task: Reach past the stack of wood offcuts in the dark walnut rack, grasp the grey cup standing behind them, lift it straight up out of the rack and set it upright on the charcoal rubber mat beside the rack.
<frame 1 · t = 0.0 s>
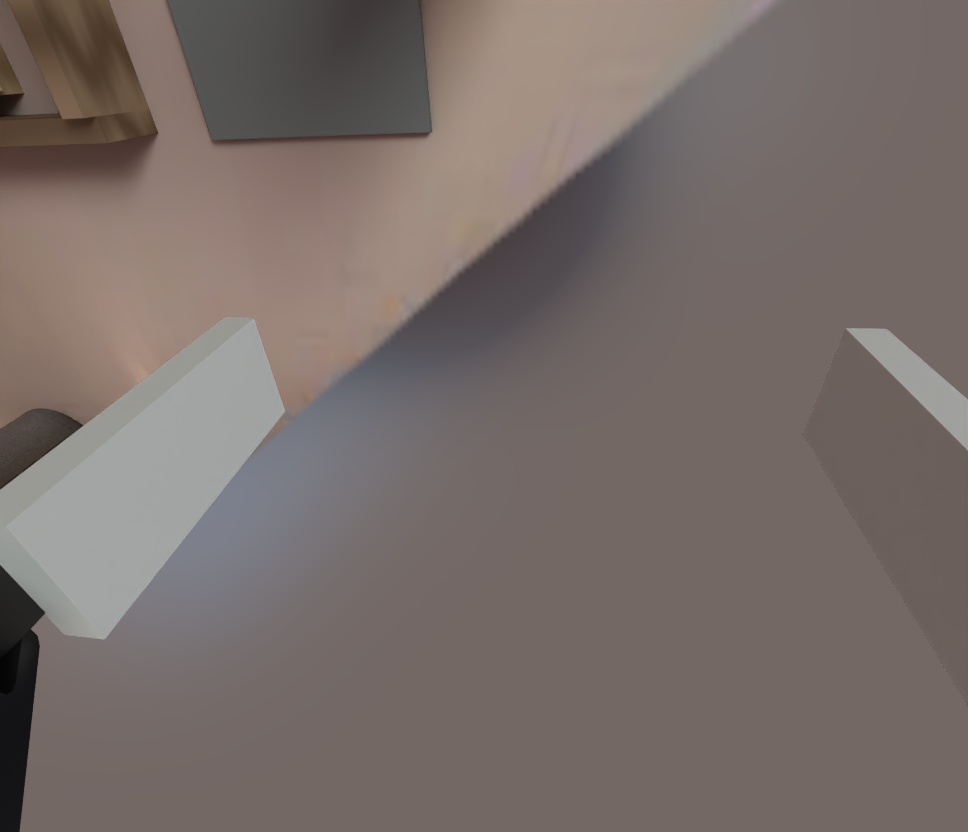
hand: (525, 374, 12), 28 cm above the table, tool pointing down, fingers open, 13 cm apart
pillar candle: (65, 440, 58), on the table
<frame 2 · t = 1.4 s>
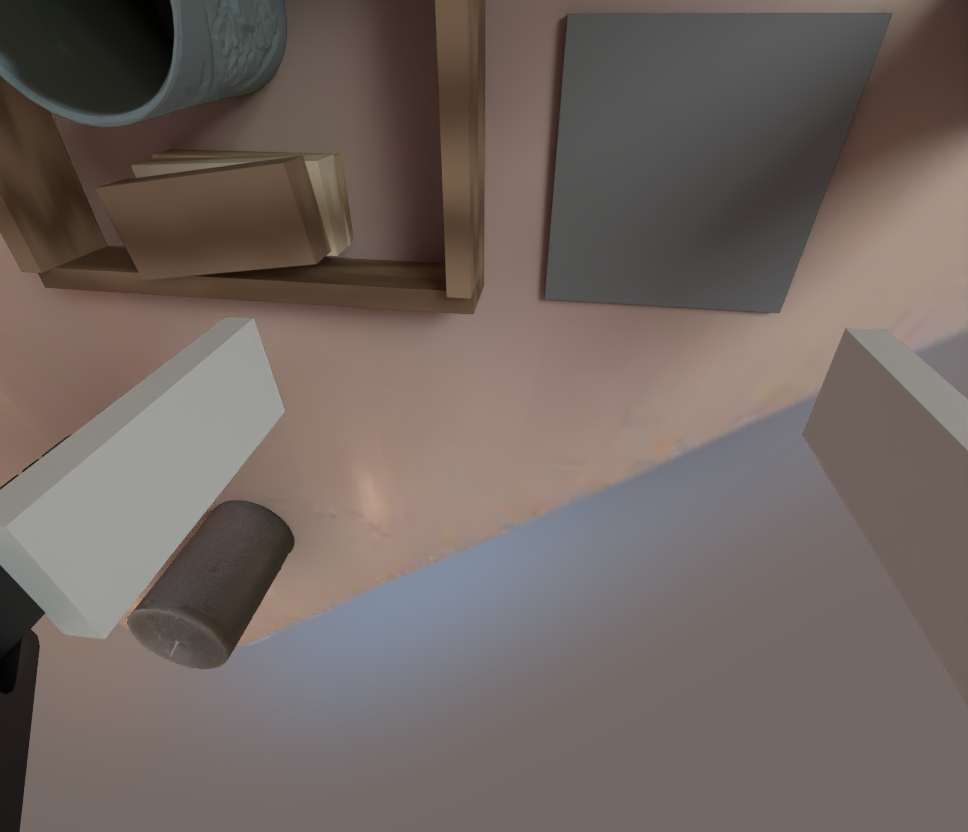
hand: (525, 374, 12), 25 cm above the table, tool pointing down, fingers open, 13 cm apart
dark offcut: (229, 215, 31), point 5 cm above the table, touching birch offcut
walnut rack: (238, 86, 31), on the table
charcoal mat: (685, 180, 31), on the table
oak offcut: (268, 194, 35), on the table, touching birch offcut
grey cup: (221, 4, 29), on the table
pillar candle: (253, 528, 58), on the table
birch offcut: (256, 202, 33), point 2 cm above the table, touching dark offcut, oak offcut
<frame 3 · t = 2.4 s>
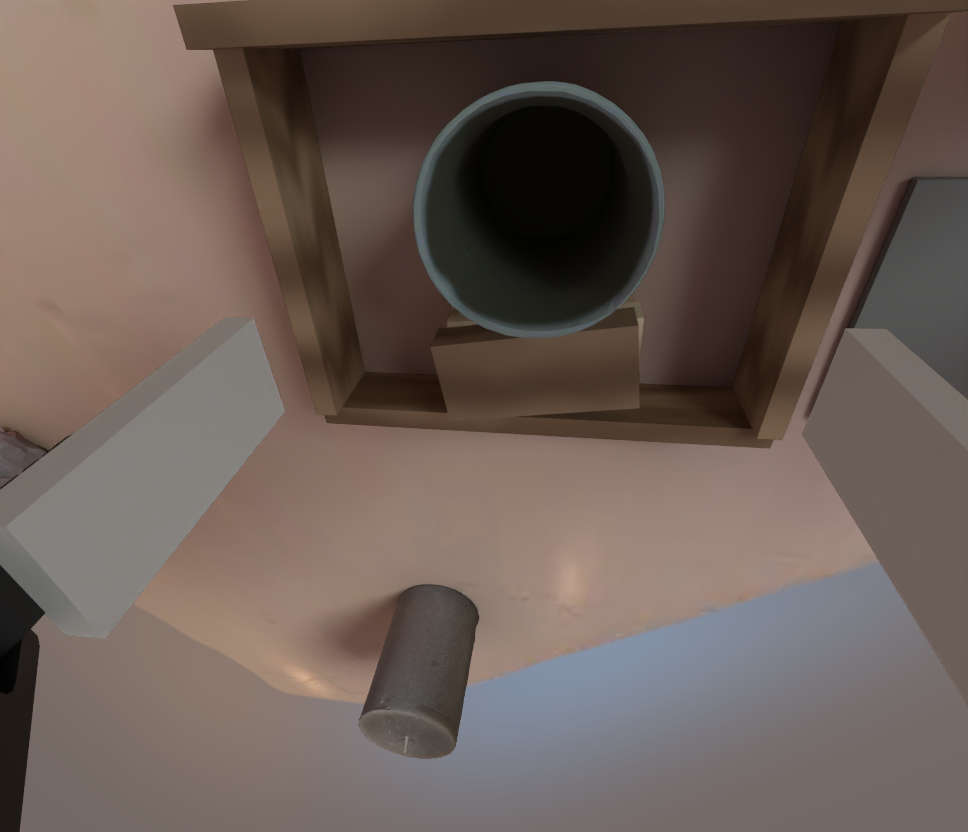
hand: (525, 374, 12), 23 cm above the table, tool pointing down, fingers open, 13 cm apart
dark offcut: (537, 357, 32), point 5 cm above the table, touching birch offcut
food item: (58, 469, 54), on the table
walnut rack: (544, 240, 32), on the table
grey cup: (546, 171, 30), on the table
pillar candle: (437, 607, 59), on the table
birch offcut: (544, 341, 34), point 2 cm above the table, touching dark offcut, oak offcut
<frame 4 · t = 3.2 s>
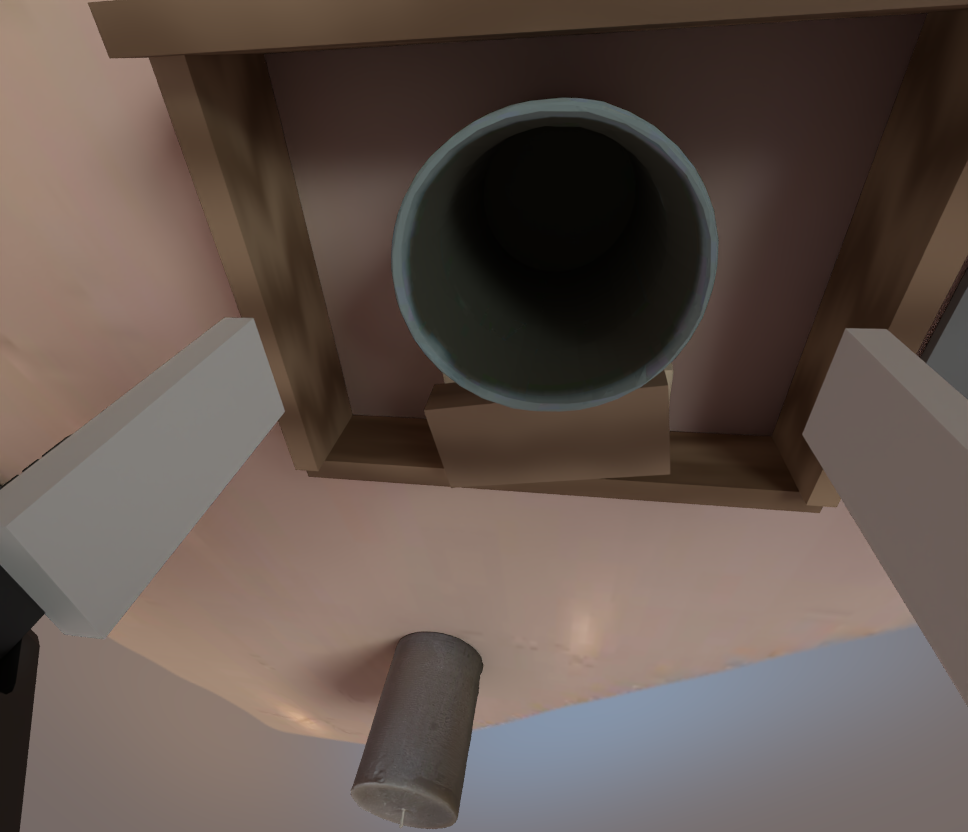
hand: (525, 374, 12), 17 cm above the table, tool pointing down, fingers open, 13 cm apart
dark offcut: (549, 414, 28), point 4 cm above the table
walnut rack: (555, 273, 28), on the table
grey cup: (558, 195, 26), on the table
pillar candle: (438, 654, 54), on the table
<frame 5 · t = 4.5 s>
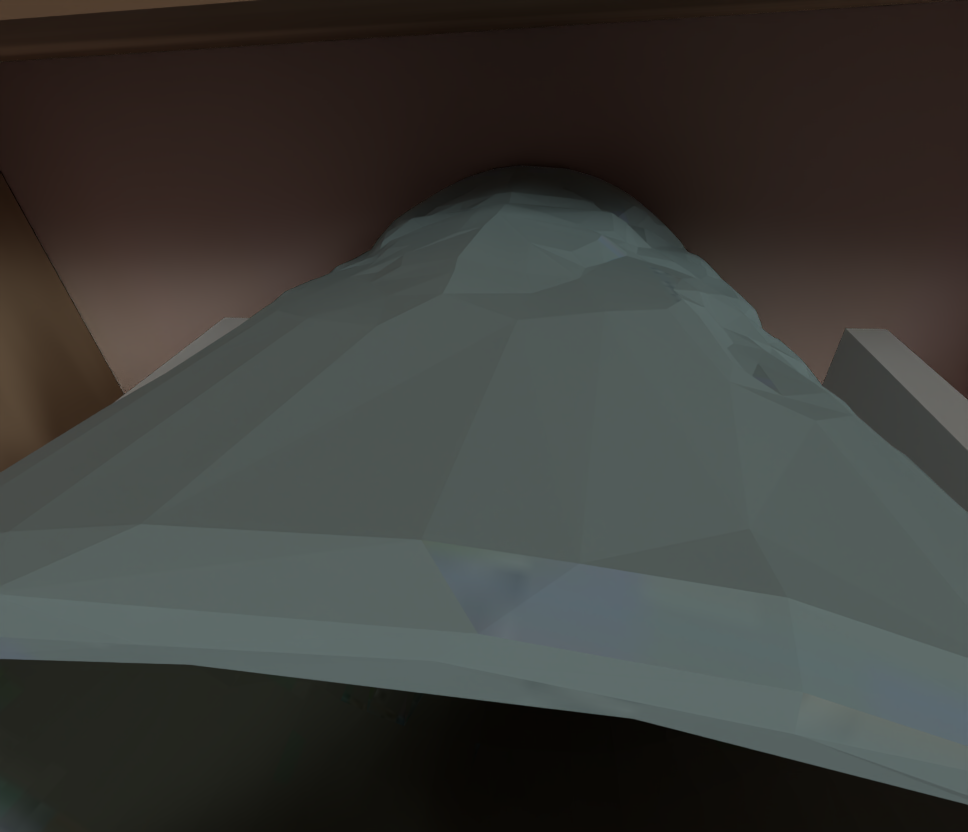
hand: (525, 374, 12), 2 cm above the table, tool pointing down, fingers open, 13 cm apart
walnut rack: (532, 444, 16), on the table
grey cup: (535, 325, 14), on the table
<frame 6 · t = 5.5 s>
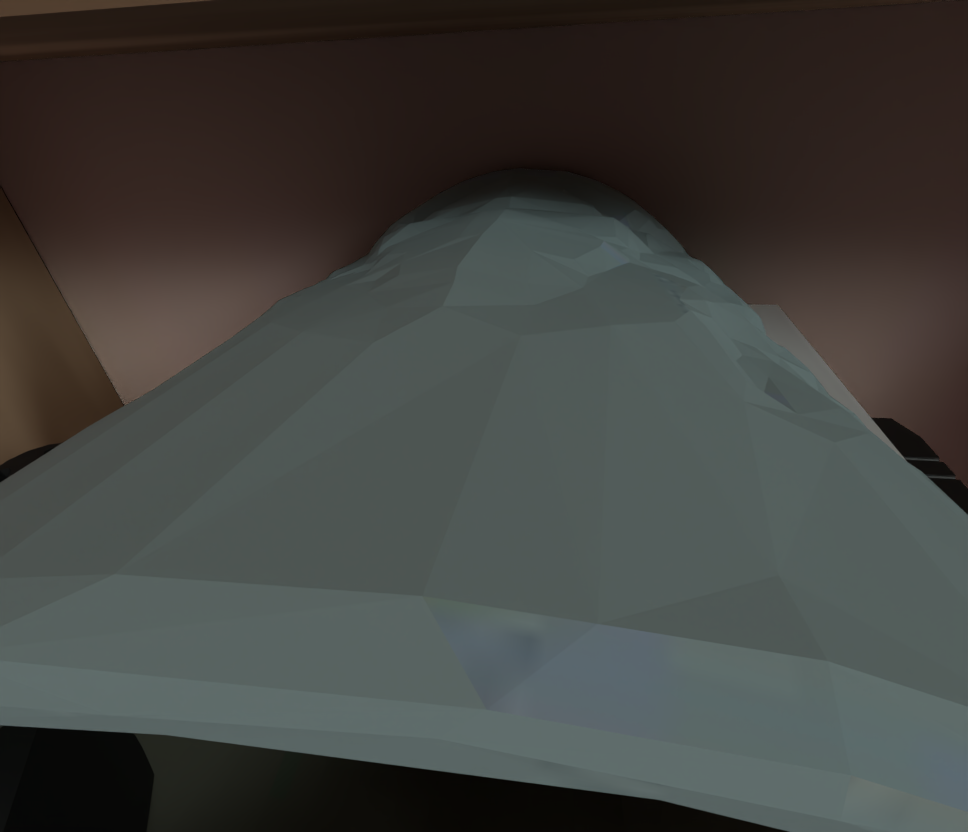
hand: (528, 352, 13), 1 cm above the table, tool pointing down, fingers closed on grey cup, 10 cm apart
walnut rack: (531, 447, 16), on the table
grey cup: (534, 329, 14), on the table, touching gripper
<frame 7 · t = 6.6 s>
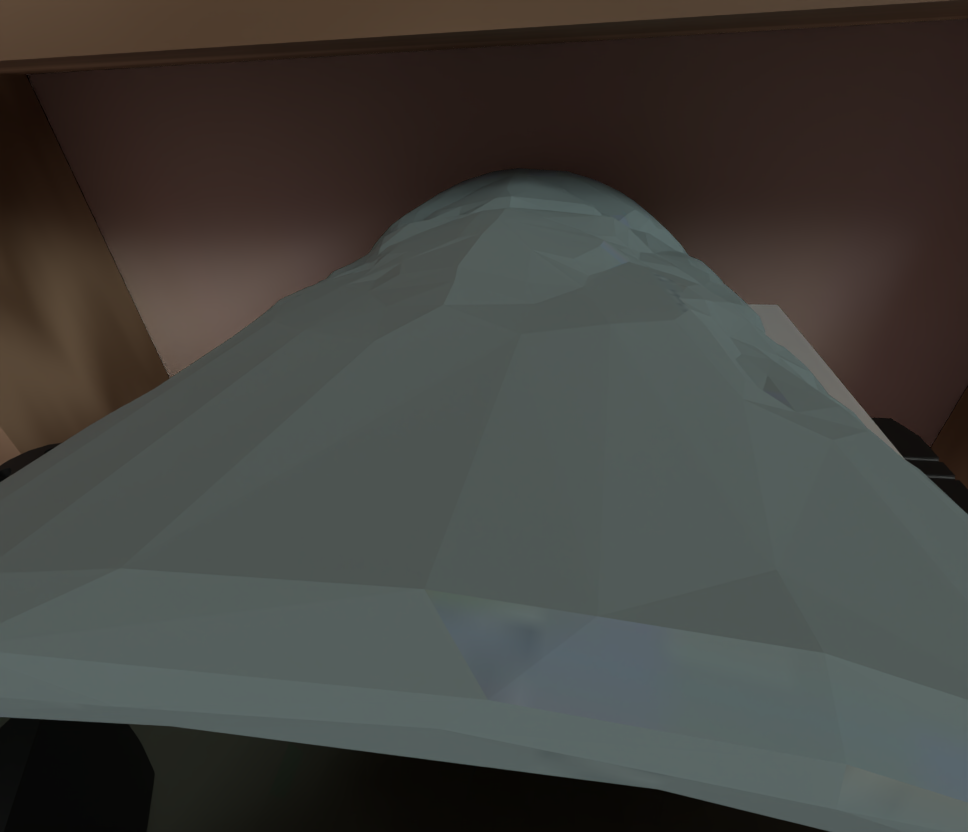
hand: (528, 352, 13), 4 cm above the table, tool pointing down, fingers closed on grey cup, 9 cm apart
walnut rack: (524, 401, 18), on the table
grey cup: (534, 329, 14), point 3 cm above the table, touching gripper
when the fingers open (3 cm above the table, at t = 15.0 s): grey cup drops 1 cm, resting on charcoal mat.
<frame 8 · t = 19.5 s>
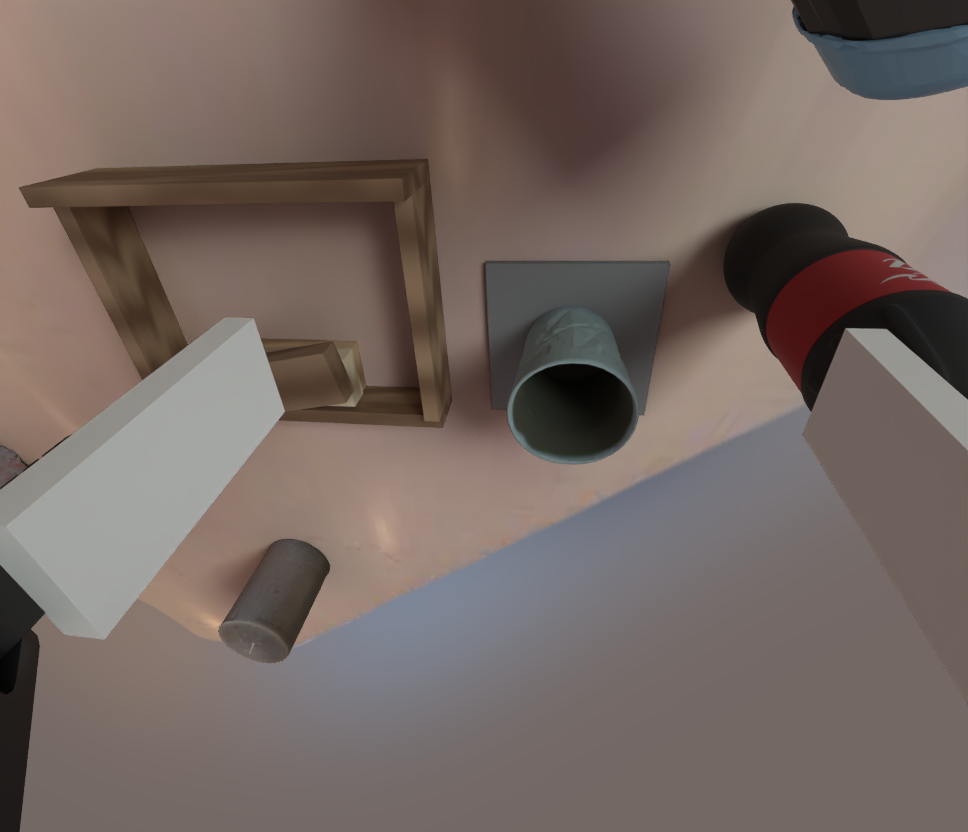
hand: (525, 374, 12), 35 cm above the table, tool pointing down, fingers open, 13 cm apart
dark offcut: (291, 374, 51), point 5 cm above the table, touching birch offcut
food item: (7, 458, 73), on the table
walnut rack: (291, 295, 50), on the table
charcoal mat: (570, 342, 49), on the table
oak offcut: (311, 360, 55), on the table, touching birch offcut
cola bottle: (770, 248, 42), on the table
grey cup: (571, 344, 49), resting on charcoal mat
pillar candle: (299, 558, 77), on the table
birch offcut: (304, 370, 53), point 2 cm above the table, touching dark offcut, oak offcut
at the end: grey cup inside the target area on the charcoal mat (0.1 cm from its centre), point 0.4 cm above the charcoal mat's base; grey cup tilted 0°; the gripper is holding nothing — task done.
